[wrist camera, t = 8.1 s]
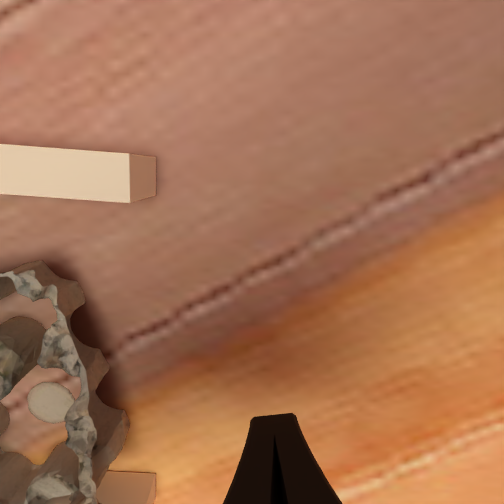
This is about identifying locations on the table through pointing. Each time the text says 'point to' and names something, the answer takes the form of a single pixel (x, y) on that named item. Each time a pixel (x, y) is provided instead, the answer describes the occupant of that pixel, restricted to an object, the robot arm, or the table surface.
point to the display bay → (85, 188)
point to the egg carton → (56, 396)
